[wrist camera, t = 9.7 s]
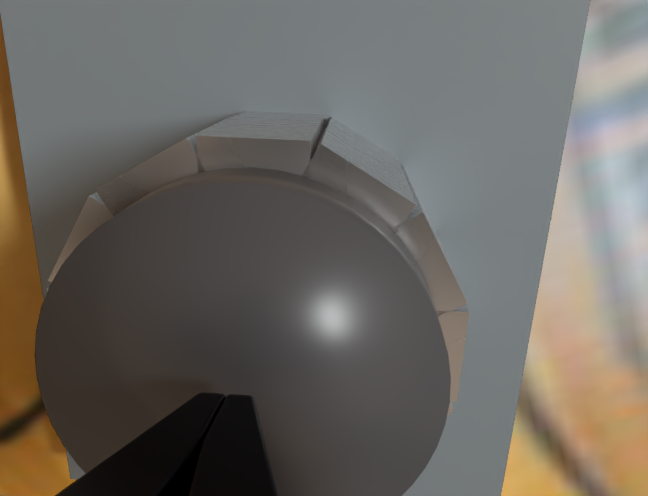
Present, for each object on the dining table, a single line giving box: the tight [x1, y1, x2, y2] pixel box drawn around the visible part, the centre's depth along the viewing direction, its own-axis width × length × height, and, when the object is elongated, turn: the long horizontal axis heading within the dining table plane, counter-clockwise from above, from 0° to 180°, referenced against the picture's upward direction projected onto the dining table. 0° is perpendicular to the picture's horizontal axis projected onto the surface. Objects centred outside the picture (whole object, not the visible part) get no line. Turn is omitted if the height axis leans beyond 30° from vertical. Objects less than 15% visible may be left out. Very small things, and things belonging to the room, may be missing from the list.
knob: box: [35, 167, 451, 496], centre depth 12 cm, size 7×7×5 cm
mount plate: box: [0, 0, 590, 496], centre depth 16 cm, size 16×14×2 cm
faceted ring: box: [47, 111, 469, 416], centre depth 13 cm, size 8×8×4 cm
